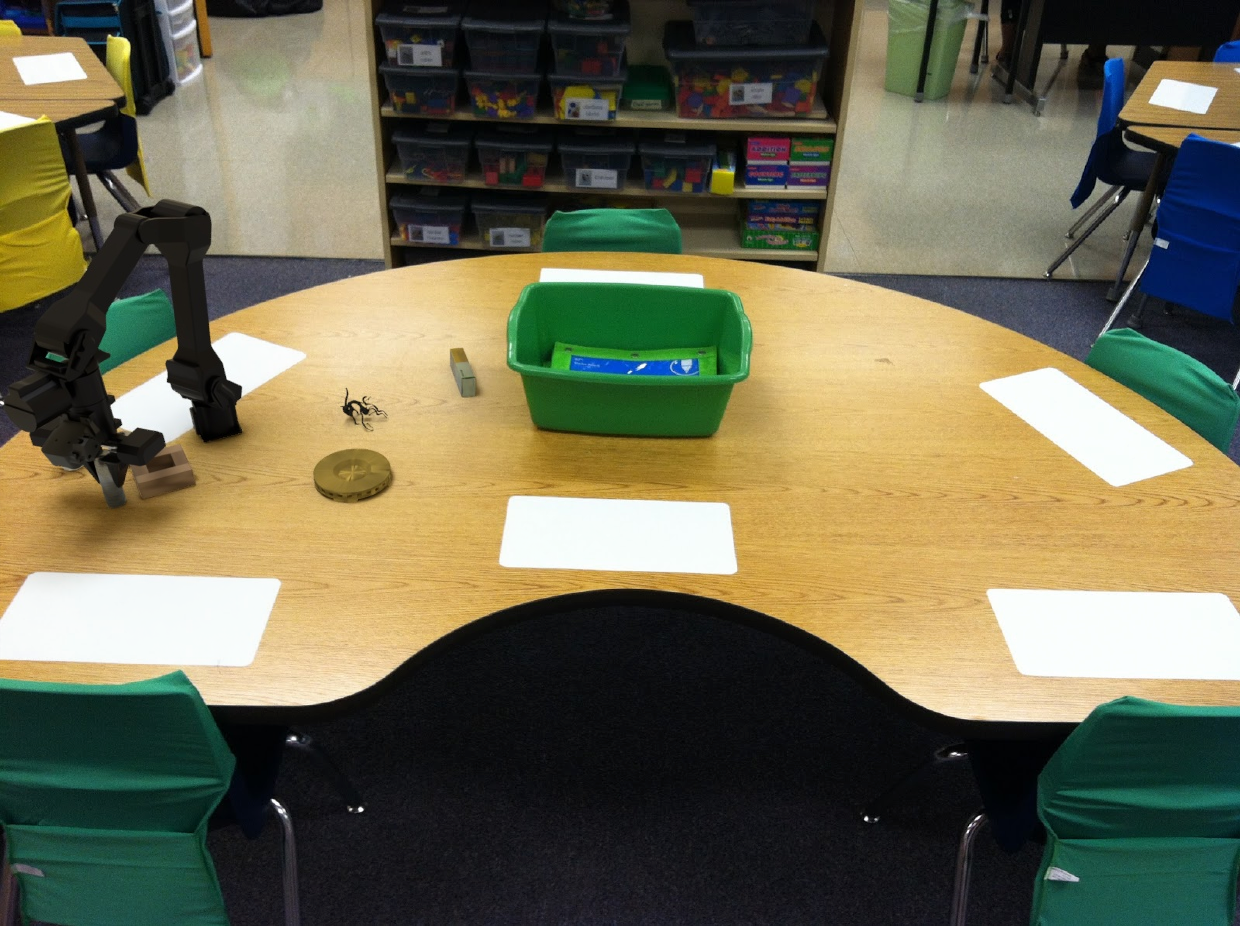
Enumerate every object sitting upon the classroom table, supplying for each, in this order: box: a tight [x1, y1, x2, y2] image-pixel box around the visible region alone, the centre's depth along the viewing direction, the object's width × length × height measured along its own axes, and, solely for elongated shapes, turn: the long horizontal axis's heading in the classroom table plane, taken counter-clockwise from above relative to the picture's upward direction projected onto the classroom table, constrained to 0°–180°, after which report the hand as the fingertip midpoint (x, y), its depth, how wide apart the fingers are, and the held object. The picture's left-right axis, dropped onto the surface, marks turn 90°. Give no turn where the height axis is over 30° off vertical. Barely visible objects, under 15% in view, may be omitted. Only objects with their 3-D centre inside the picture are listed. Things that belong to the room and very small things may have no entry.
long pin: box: [93, 448, 128, 509], centre depth 157 cm, size 3×3×9 cm
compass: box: [312, 448, 392, 503], centre depth 166 cm, size 12×12×2 cm
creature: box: [340, 387, 389, 432], centre depth 180 cm, size 8×5×8 cm
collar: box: [129, 443, 197, 500], centre depth 164 cm, size 8×8×3 cm
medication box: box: [449, 347, 476, 398], centre depth 192 cm, size 12×3×4 cm, turn 19°
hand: (111, 484), depth 157 cm, fingers closed on long pin, 3 cm apart
